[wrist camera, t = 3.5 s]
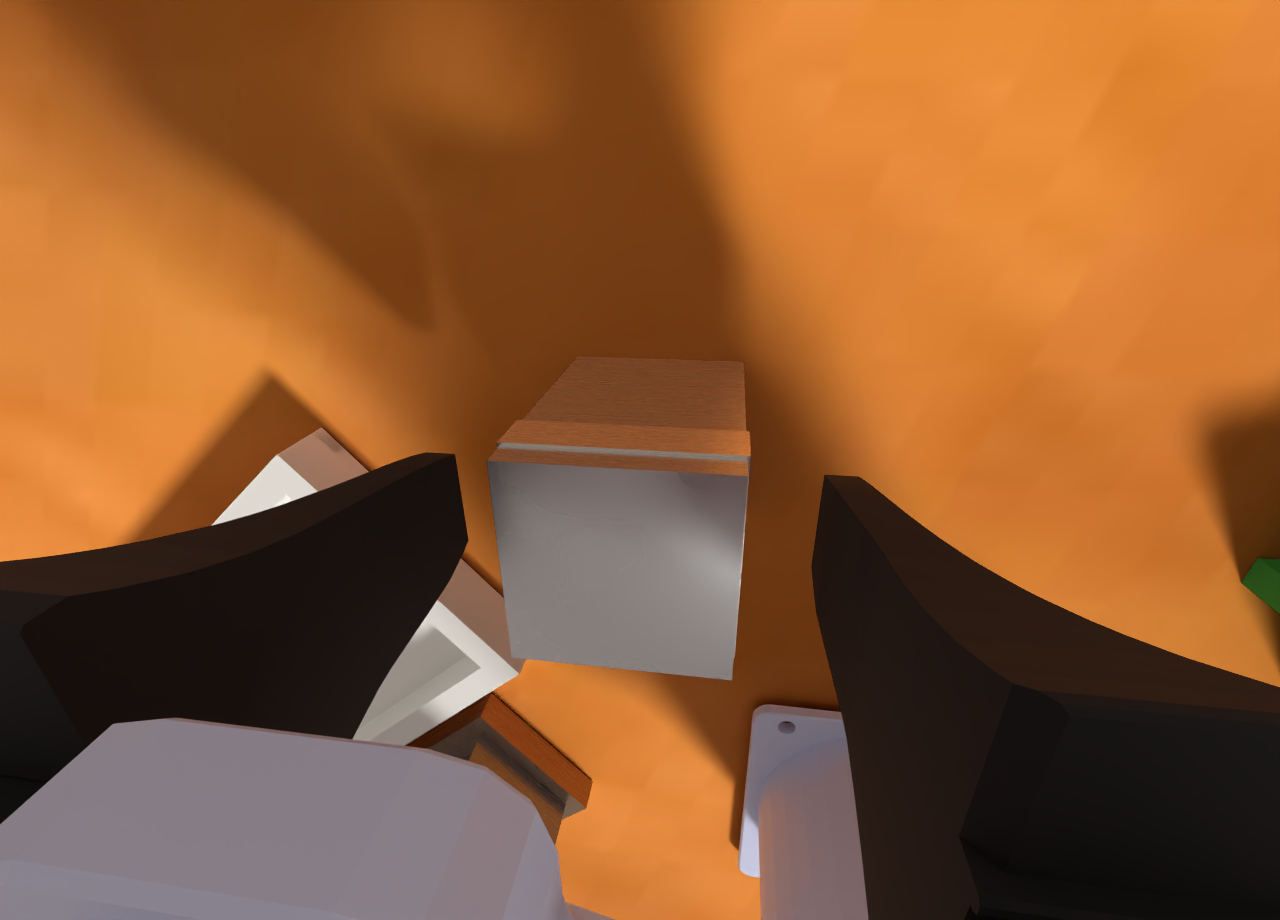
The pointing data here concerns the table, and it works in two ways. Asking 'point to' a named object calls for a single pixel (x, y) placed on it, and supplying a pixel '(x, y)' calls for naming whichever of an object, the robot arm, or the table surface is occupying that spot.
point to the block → (626, 516)
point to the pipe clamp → (1265, 581)
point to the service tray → (447, 638)
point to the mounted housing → (513, 758)
